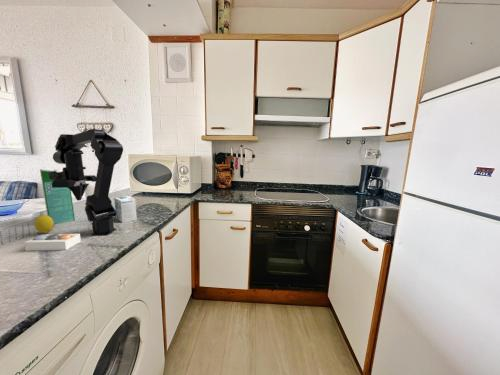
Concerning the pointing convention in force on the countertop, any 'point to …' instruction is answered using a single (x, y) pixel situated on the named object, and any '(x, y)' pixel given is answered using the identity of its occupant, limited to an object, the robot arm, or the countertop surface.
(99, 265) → the countertop surface
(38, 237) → the slate button
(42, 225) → the lemon
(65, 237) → the terracotta button
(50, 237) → the charcoal button
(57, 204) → the milk carton
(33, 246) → the frame
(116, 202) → the light bulb box
